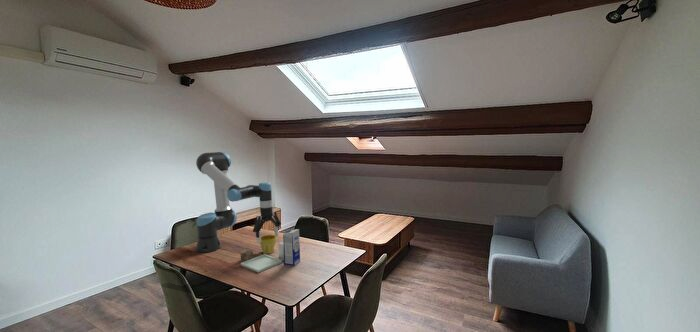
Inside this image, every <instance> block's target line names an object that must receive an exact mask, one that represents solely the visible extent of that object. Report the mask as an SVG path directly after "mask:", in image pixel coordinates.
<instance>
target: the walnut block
mask: <svg viewBox="0 0 700 332" xmlns="http://www.w3.org/2000/svg"><path fill="white" fill-rule="evenodd" d="M253 258H254V251H253V250H249V249H246V250H245V249H244V250H243V251H242V252H241V251H240V261H241V262H245V261H247V260H250V259H253Z"/></svg>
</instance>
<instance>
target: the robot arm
mask: <svg viewBox="0 0 700 332" xmlns="http://www.w3.org/2000/svg"><path fill="white" fill-rule="evenodd" d="M195 163H196V167H197V170H199V172H200V173H202V175H206V176H207V177H208V178H210V179H211V180H212V181H213V186H214V195H215V197H214V198H215V205H216V208H215V209H214V212H208V213H207V212H206V213H202V214H200V215H199V216H198V217H197V219H196V226H197V227H196V228H197V240H196V241H197V243H196V246H195V252H196V253H204V254H205V253H211V252H214V251H217V250H219V249H221V248H222V246H221V245H222V244H221V241H220V240H219V237H218V231H221V230H224V229H228V228H230V227H232V226H234V225H235V224H236V223H237V220H238V219H237V217H238V215H237V213H236V211H235V210H234V209H233V207H232V206H231V205H230V202H239V201H242V200H248V199H250V198H252V199H253V198H259V207H260V208H259V211H260V212H259V213H260V215H257V216H256V219H255V223H254V226H253V229H252V232H253V233H255V237H256V242H257V243H259V244H260V243H261V237H262V235H261V229H262V228H263V225H264V224H265V223H267V222H269V221H270V222H271V223H272V224H273V225H274V226H273V229H274V232H273V233H274V236H276V238H277V237H279V229H280V228H279V227H280V225H282V223H281V220H280V219H279V217H278V215H277V211H276V212H275V211H274V210H273V198H272V197H273V196H272V195H273V194H272V184H271V182H269V181H267V182H264V181H263V182H259V183H258V185H256V184H255V185H254V184H248V185H246V186H242V187H241V186H239V185H238V184H237V183H235V182H234V181H233V180H232V179H231V178H229V176H227V172H228V171H229V168H230V167H231V165H232V160H231V156H230V155H229V154H228V153H226V152H224V151H216V152H215V151H214V152H213V151H212V152H204V153H201V154H199V156H198V157H197V158H196V162H195Z"/></svg>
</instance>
